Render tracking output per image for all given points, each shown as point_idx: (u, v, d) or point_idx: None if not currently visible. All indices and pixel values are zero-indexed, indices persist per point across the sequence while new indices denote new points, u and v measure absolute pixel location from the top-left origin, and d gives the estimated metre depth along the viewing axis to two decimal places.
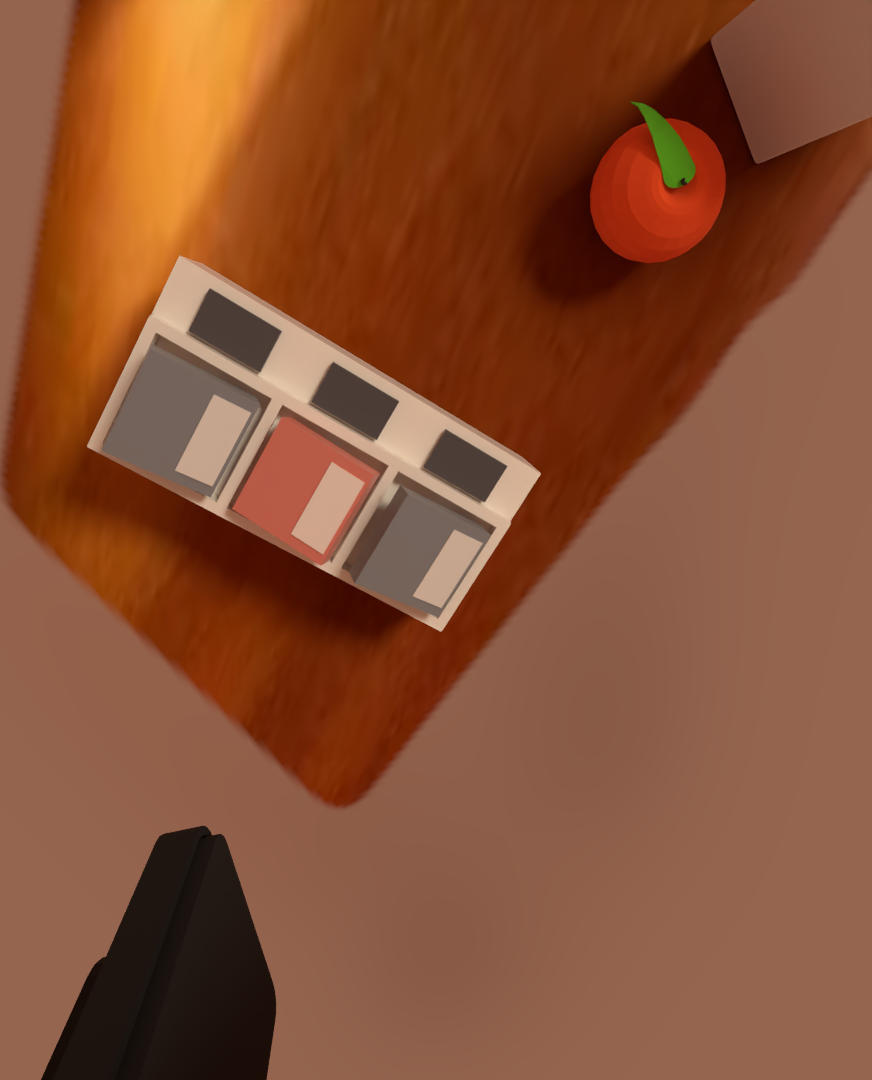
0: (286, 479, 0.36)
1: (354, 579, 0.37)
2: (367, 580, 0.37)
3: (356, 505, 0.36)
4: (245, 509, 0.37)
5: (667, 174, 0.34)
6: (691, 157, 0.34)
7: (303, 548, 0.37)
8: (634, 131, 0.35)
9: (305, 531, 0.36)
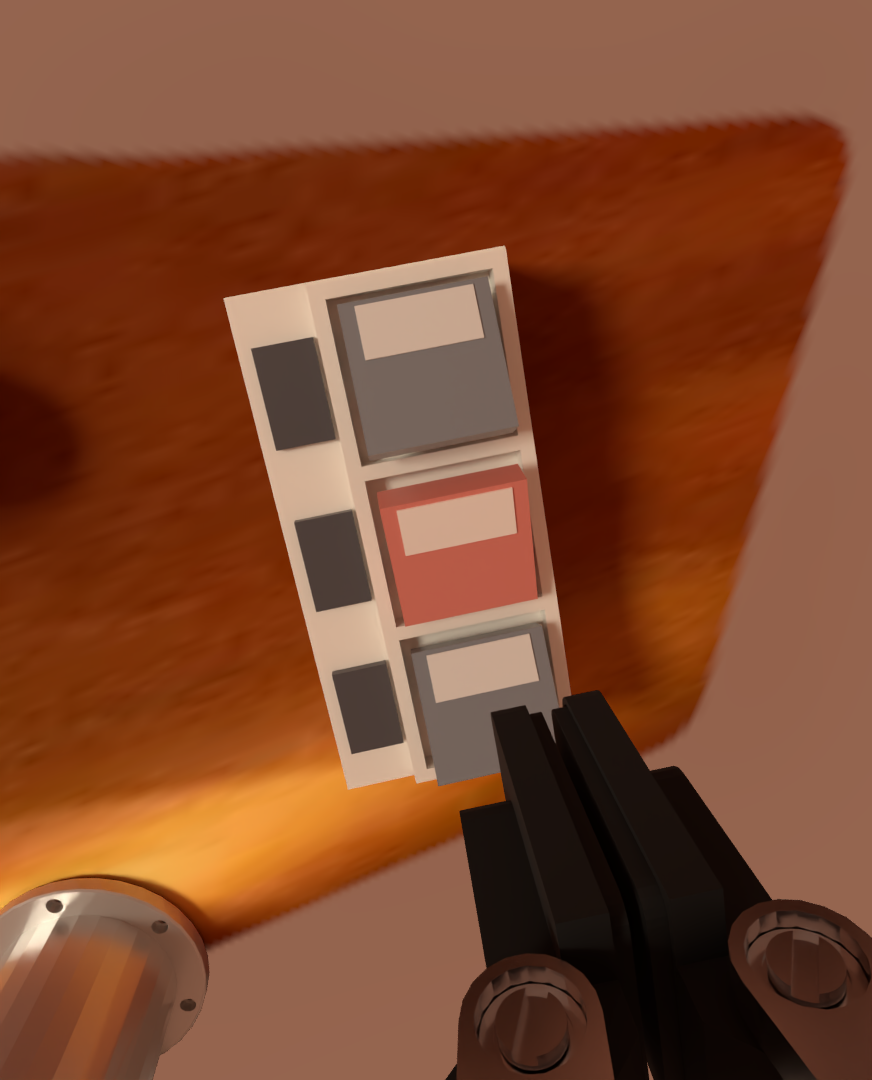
0: (463, 578, 0.28)
1: (514, 427, 0.26)
2: (504, 413, 0.26)
3: (428, 497, 0.26)
4: (527, 588, 0.29)
5: None
6: None
7: (522, 509, 0.27)
8: None
9: (501, 522, 0.27)
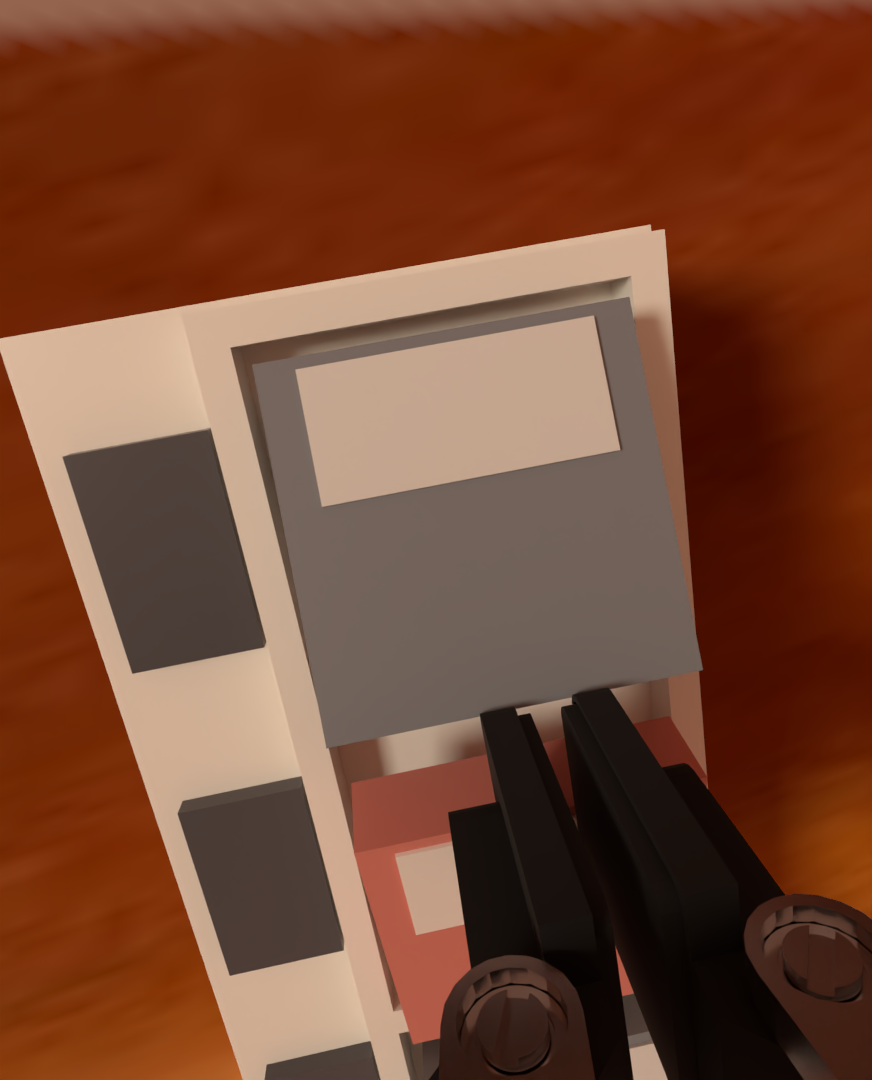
0: None
1: None
2: (667, 637, 0.10)
3: None
4: None
5: None
6: None
7: None
8: None
9: None
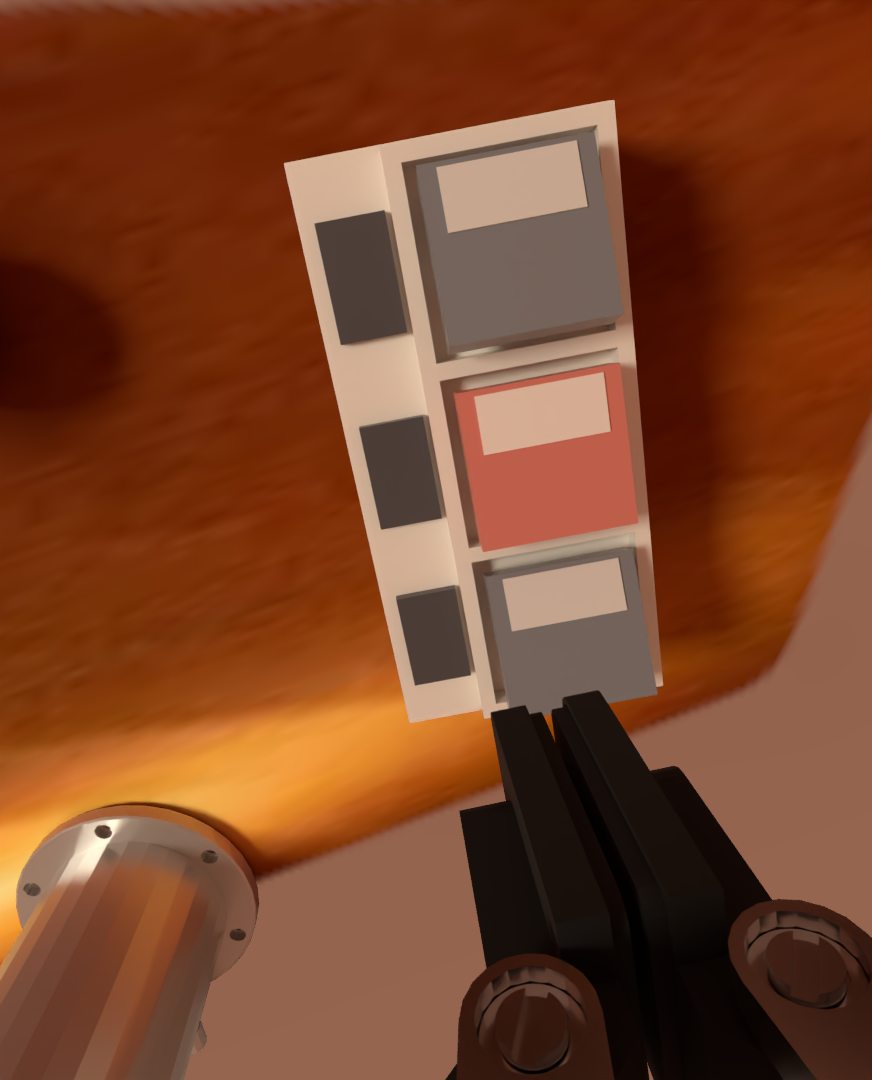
0: (549, 489, 0.24)
1: (618, 316, 0.22)
2: (607, 297, 0.22)
3: (509, 383, 0.24)
4: (626, 507, 0.25)
5: None
6: None
7: (616, 401, 0.24)
8: None
9: (592, 416, 0.24)
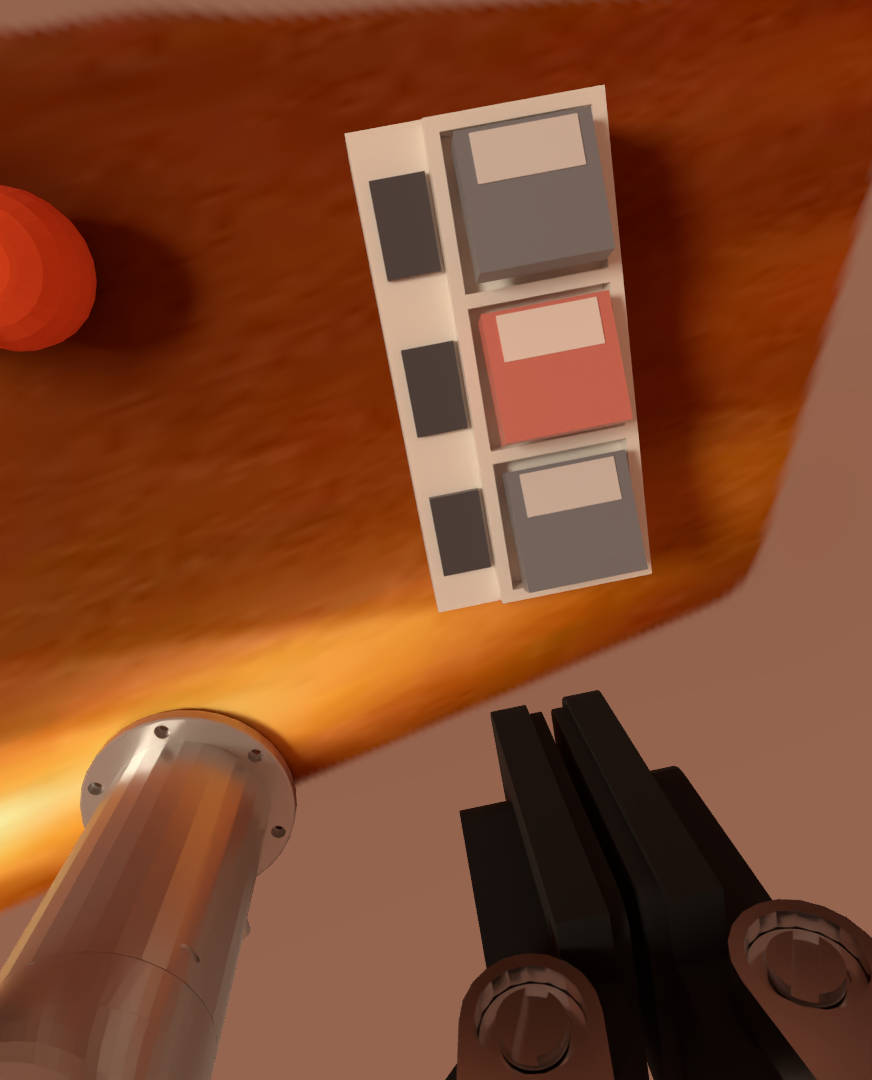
0: (558, 391, 0.30)
1: (611, 250, 0.28)
2: (602, 235, 0.28)
3: (523, 307, 0.30)
4: (621, 405, 0.30)
5: None
6: None
7: (608, 319, 0.30)
8: None
9: (590, 331, 0.30)
